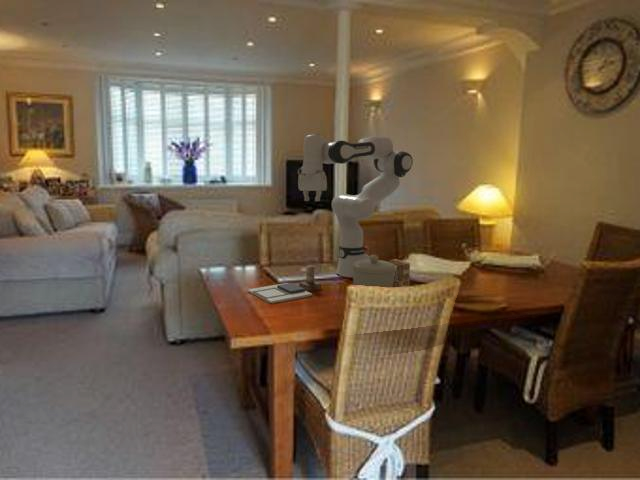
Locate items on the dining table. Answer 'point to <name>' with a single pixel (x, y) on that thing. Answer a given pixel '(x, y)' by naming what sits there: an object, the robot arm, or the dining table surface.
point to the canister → (373, 272)
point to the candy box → (401, 273)
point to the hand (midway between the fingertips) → (312, 201)
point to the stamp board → (280, 292)
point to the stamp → (310, 280)
